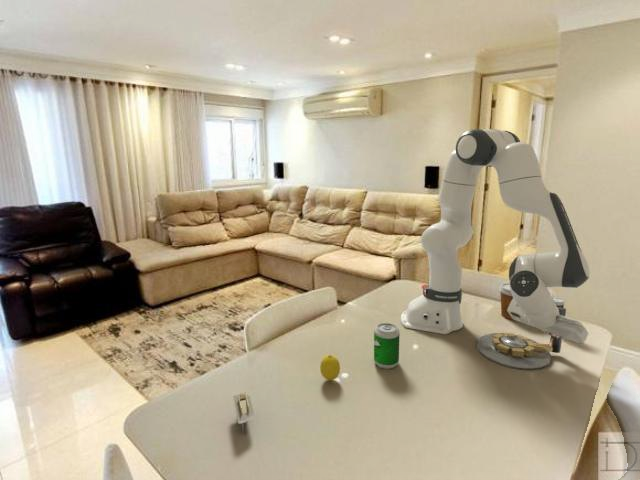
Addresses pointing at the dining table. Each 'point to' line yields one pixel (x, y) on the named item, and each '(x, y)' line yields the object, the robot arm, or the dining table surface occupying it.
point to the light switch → (241, 416)
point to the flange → (523, 363)
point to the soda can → (386, 345)
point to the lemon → (330, 367)
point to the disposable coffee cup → (505, 299)
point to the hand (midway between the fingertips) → (552, 333)
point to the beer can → (558, 302)
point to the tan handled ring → (529, 343)
